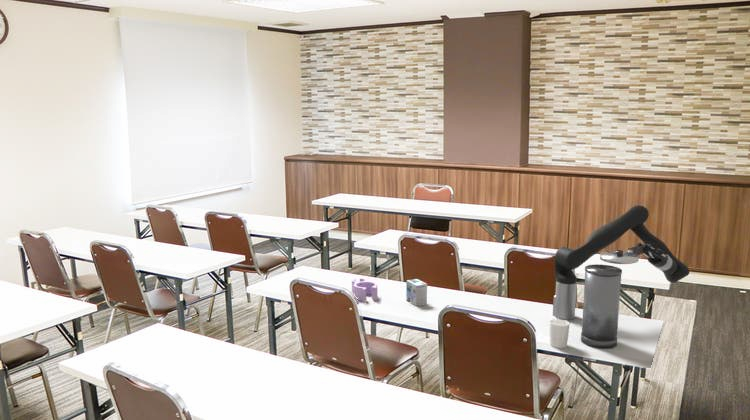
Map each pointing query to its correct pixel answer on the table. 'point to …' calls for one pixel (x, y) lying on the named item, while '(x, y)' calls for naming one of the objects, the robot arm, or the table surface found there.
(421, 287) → the light bulb box
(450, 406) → the table surface
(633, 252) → the lid
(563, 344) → the white cup
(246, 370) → the table surface
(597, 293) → the canister
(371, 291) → the clip
